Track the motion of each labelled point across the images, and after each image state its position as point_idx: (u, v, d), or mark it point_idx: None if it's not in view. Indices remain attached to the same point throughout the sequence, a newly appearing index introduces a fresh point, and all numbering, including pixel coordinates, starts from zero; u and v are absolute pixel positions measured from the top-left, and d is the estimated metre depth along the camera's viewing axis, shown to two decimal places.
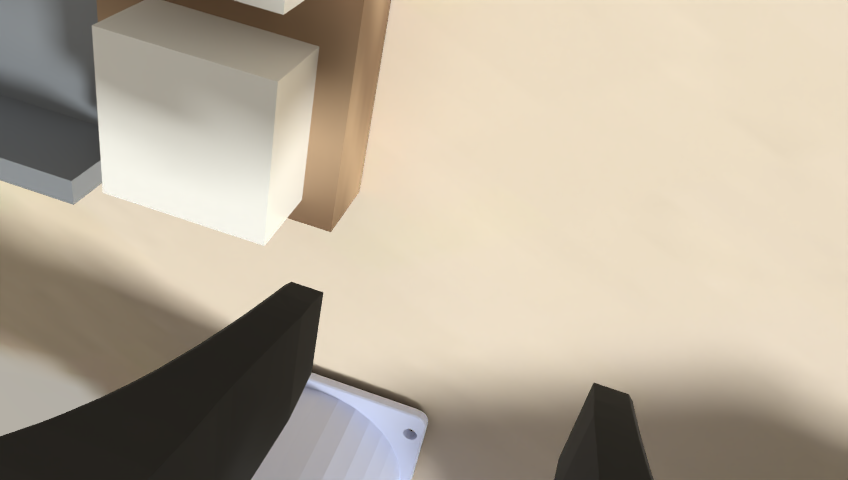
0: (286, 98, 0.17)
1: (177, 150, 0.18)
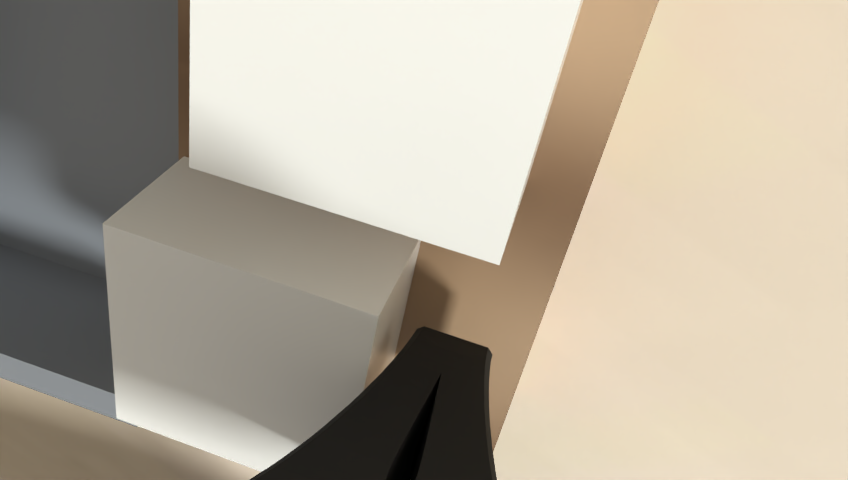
0: (383, 324, 0.12)
1: (223, 381, 0.13)
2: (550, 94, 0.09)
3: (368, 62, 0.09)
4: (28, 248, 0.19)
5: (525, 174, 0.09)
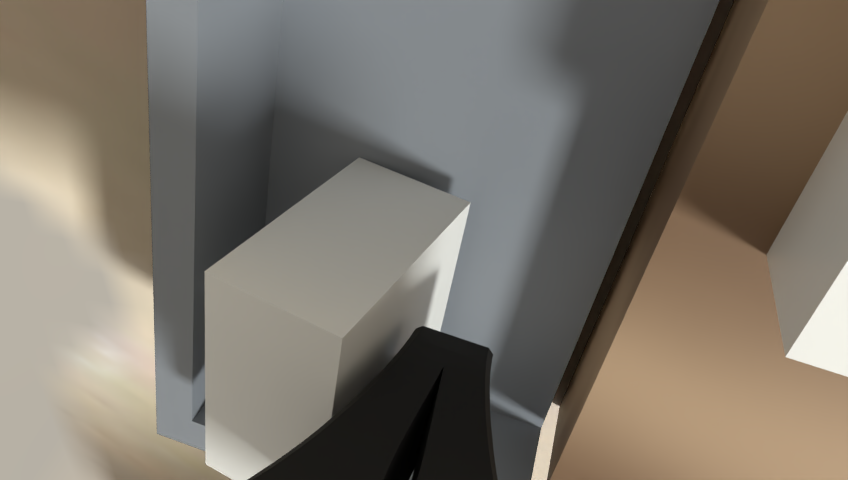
0: (234, 318, 0.11)
1: None
2: None
3: None
4: None
5: None
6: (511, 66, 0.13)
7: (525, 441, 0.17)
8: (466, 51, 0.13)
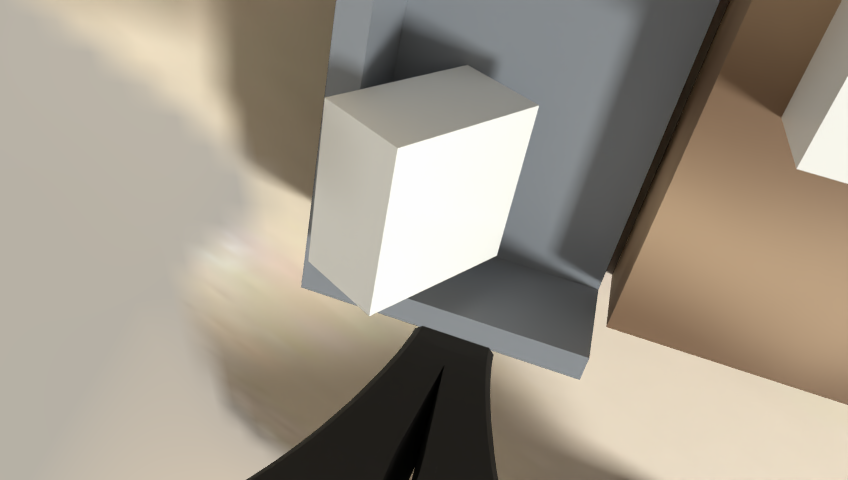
0: (337, 135, 0.16)
1: None
2: None
3: None
4: None
5: None
6: None
7: (587, 297, 0.21)
8: None
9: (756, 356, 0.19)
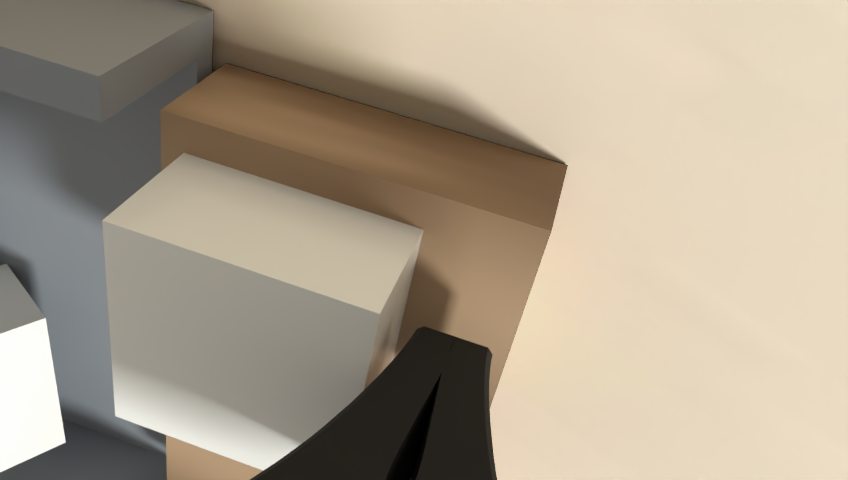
0: None
1: None
2: None
3: (235, 373, 0.13)
4: None
5: None
6: (83, 206, 0.17)
7: None
8: (51, 194, 0.17)
9: None
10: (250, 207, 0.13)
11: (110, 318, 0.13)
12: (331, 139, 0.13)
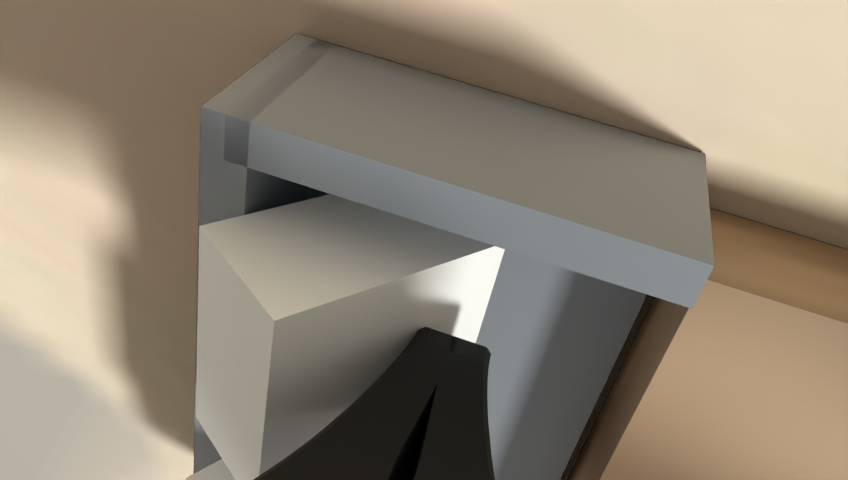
0: None
1: None
2: None
3: None
4: None
5: (198, 365, 0.14)
6: (480, 337, 0.16)
7: None
8: None
9: None
10: (394, 235, 0.13)
11: None
12: None
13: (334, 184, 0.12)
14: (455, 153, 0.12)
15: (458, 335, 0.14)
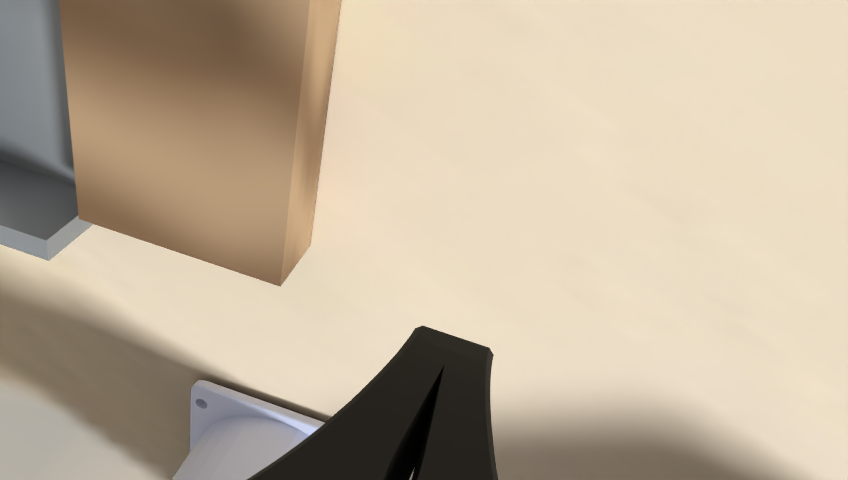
0: None
1: None
2: None
3: None
4: None
5: None
6: None
7: None
8: None
9: (184, 240, 0.24)
10: None
11: None
12: None
13: None
14: None
15: None
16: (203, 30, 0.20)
